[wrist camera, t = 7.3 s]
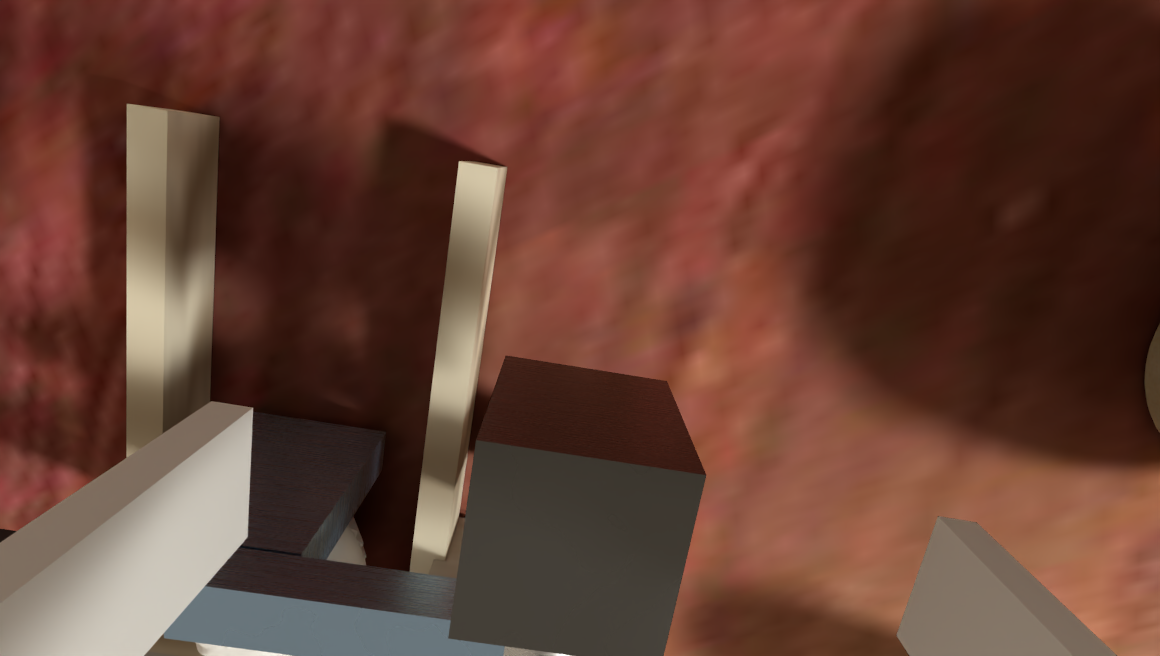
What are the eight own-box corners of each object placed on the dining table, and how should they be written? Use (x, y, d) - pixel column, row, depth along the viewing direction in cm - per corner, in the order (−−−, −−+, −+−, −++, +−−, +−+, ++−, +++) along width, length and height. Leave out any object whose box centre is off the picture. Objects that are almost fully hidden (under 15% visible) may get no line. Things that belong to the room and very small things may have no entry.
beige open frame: (160, 106, 23) (-157, 65, 13) (529, 170, 23) (497, 177, 13) (154, 600, 27) (-81, 845, 18) (460, 642, 28) (399, 902, 18)
